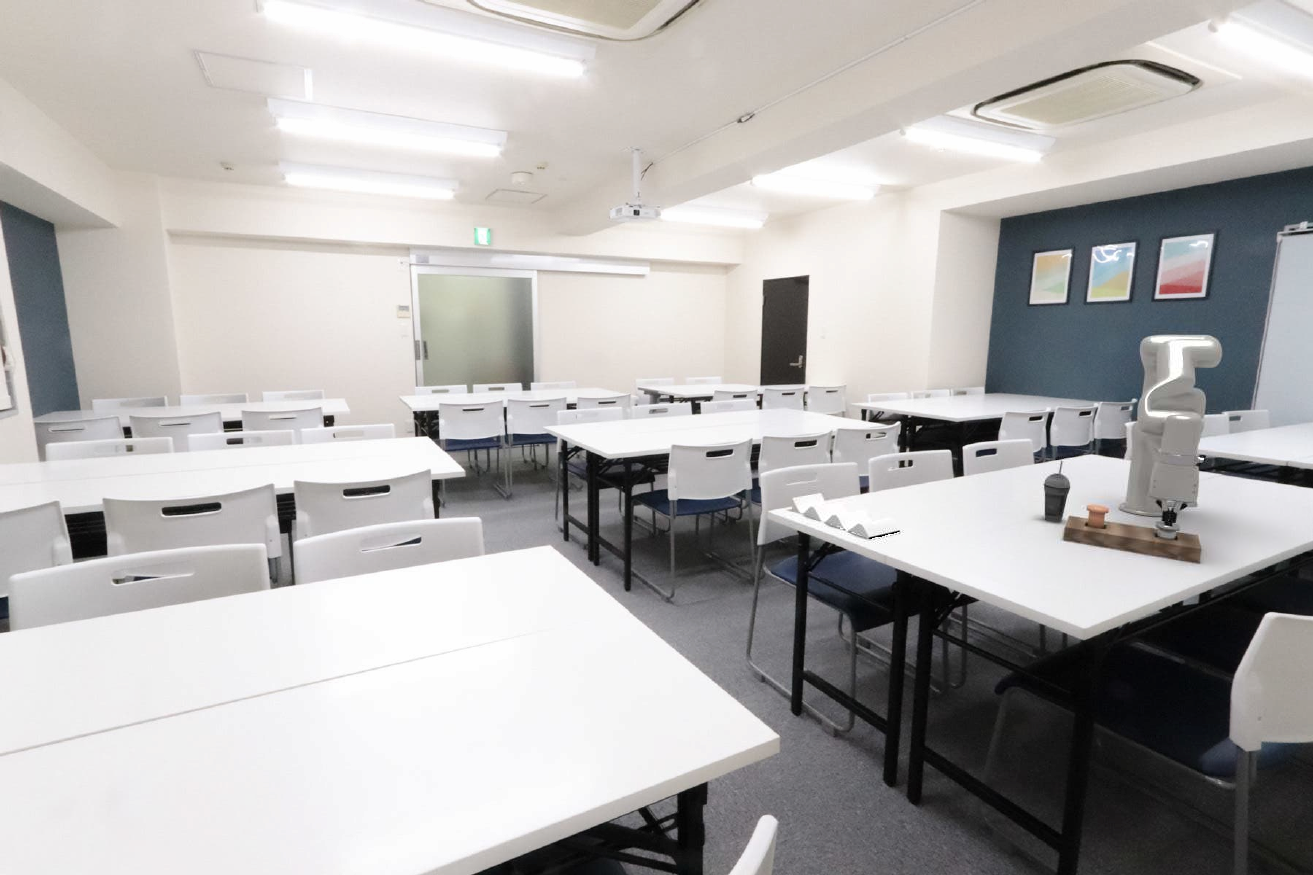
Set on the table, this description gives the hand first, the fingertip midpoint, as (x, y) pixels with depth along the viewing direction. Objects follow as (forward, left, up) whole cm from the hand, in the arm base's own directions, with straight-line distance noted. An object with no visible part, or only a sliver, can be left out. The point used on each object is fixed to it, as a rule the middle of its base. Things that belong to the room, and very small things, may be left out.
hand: (1168, 524), depth 167 cm
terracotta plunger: (+13, -10, -4) cm, 17 cm away
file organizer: (+82, -25, -8) cm, 86 cm away
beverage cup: (+14, -27, -8) cm, 32 cm away
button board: (+6, -5, -8) cm, 11 cm away
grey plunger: (0, 0, -7) cm, 7 cm away
